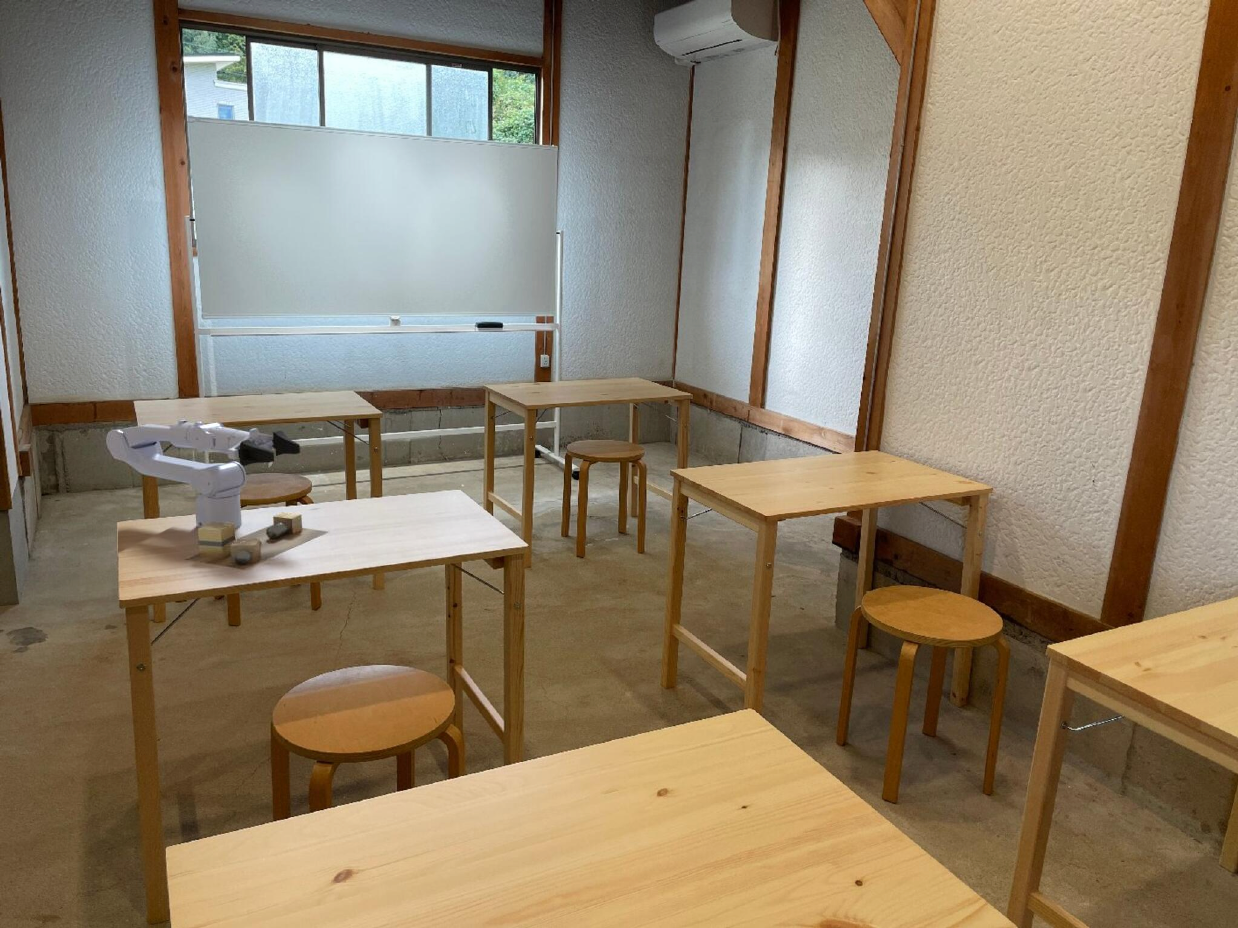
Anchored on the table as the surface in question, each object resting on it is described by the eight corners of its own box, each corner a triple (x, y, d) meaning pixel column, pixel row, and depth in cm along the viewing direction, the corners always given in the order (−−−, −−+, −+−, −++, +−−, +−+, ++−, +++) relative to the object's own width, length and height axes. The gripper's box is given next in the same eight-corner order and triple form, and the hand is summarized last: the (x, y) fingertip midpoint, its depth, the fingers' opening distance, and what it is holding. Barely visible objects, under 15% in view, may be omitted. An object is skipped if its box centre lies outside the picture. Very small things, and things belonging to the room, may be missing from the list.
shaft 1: (243, 550, 188) (242, 533, 187) (266, 550, 188) (265, 533, 187) (229, 565, 179) (228, 547, 178) (254, 565, 179) (253, 547, 178)
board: (185, 564, 182) (184, 559, 182) (275, 528, 207) (275, 523, 206) (244, 574, 177) (243, 569, 177) (329, 536, 202) (329, 531, 202)
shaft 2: (281, 540, 195) (280, 523, 194) (262, 538, 196) (261, 521, 195) (305, 528, 203) (304, 512, 203) (286, 526, 205) (285, 510, 204)
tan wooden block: (199, 556, 183) (197, 529, 182) (213, 548, 188) (211, 521, 187) (223, 558, 183) (220, 530, 181) (236, 550, 188) (234, 523, 186)
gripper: (211, 432, 190) (259, 442, 185) (262, 419, 203) (308, 428, 198) (213, 463, 192) (261, 474, 187) (264, 448, 205) (310, 458, 200)
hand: (286, 453), depth 192 cm, fingers open, 7 cm apart
